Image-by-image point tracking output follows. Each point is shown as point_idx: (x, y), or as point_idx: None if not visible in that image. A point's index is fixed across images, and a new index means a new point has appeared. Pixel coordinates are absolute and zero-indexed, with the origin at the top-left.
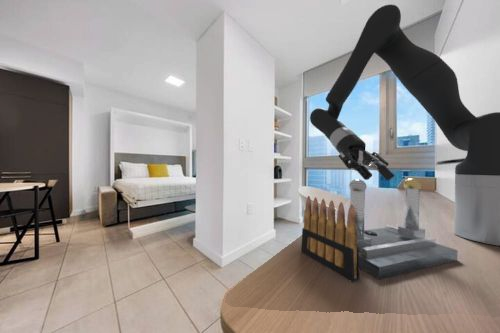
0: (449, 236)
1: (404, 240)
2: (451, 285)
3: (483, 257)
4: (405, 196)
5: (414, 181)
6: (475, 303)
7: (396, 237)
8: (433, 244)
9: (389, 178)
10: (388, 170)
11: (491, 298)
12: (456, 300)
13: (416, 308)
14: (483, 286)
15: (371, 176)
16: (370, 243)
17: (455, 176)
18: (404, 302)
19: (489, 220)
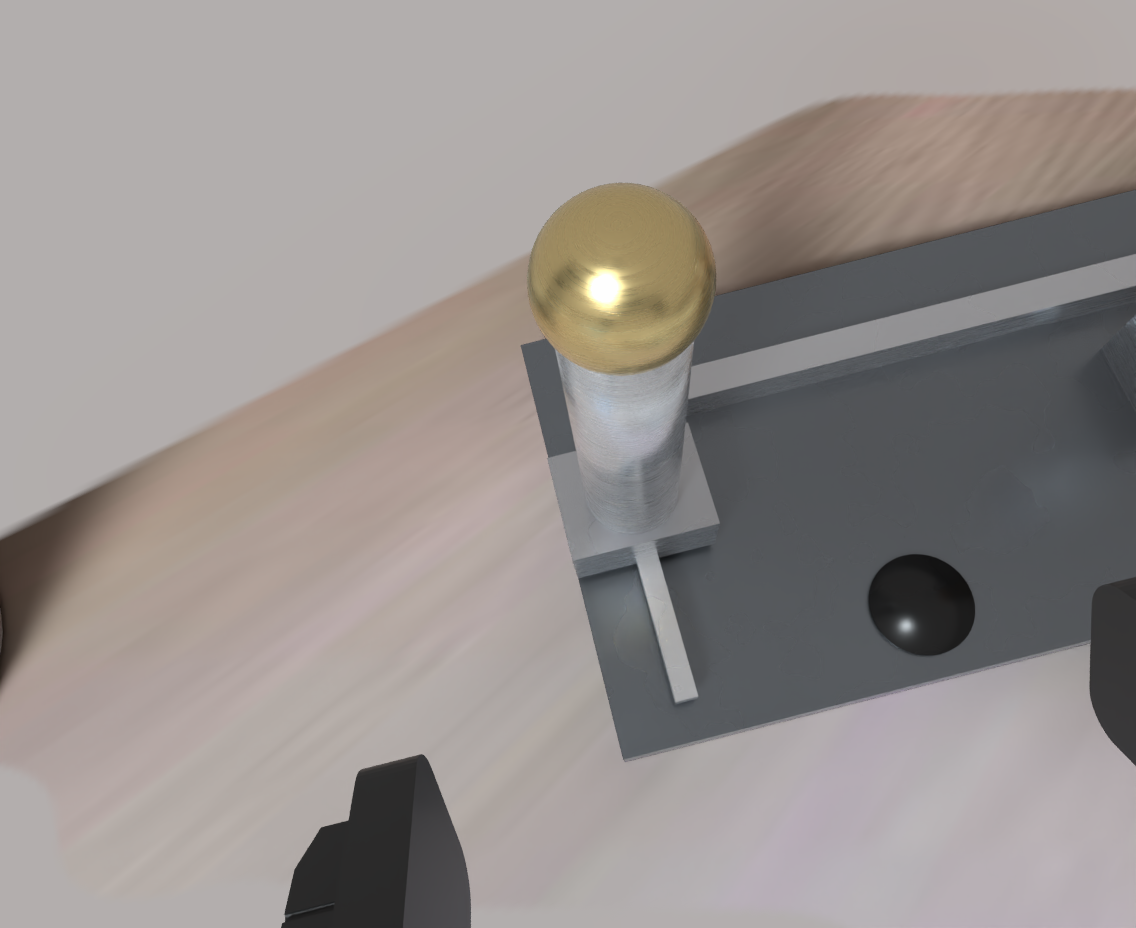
0: (60, 725)
1: (737, 470)
2: (828, 195)
3: (314, 407)
4: (687, 383)
5: (657, 192)
6: (852, 119)
7: (751, 522)
8: None
9: (449, 833)
10: (393, 887)
11: (754, 141)
12: (909, 128)
13: (1105, 94)
14: (690, 194)
15: (1097, 603)
16: (1124, 329)
17: None
18: (1128, 114)
19: None
